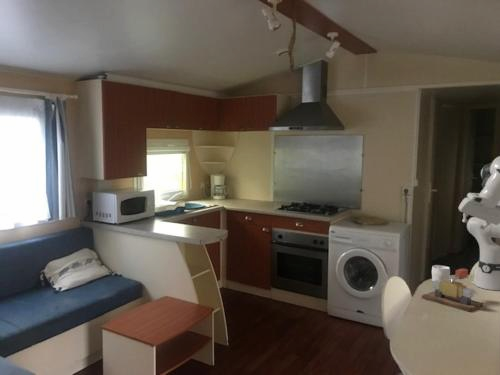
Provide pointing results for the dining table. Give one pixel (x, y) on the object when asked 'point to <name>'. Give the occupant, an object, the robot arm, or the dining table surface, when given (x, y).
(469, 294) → the valve
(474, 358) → the dining table surface
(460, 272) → the lever
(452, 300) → the board
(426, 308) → the dining table surface
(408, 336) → the dining table surface
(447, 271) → the cup
